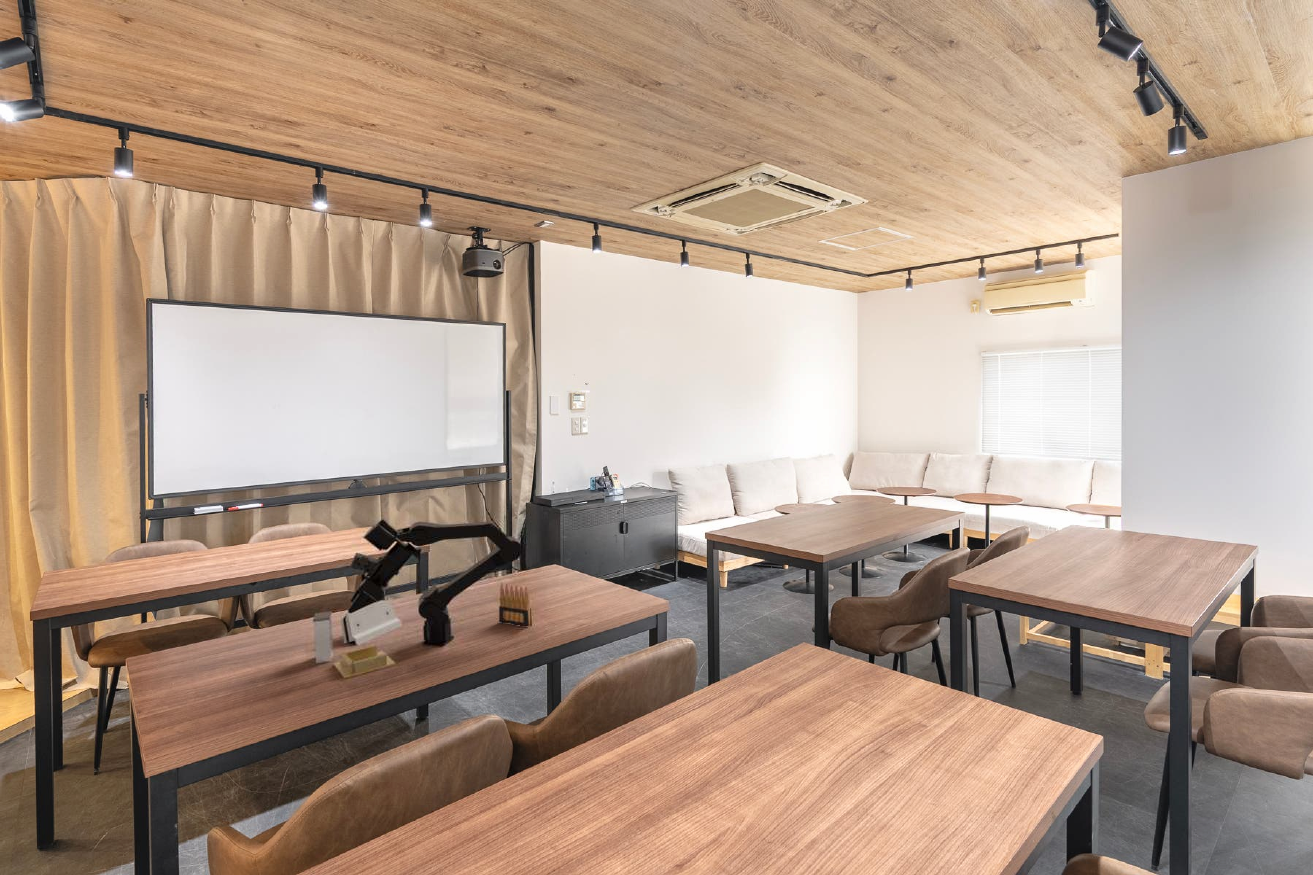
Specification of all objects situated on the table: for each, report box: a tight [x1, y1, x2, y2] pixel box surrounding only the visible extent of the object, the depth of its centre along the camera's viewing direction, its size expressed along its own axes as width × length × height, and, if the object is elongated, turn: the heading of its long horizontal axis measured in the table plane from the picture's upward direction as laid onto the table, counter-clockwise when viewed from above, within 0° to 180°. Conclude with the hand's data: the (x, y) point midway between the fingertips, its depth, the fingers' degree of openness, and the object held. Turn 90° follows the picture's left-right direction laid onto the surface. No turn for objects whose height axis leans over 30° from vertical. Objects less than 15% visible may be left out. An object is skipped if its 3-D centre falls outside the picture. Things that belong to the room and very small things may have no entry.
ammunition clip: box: [498, 583, 533, 627], centre depth 191 cm, size 11×2×12 cm, turn 65°
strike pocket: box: [333, 644, 396, 679], centre depth 164 cm, size 12×11×3 cm
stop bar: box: [312, 610, 334, 664], centre depth 168 cm, size 4×5×12 cm
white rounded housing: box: [340, 600, 403, 646], centre depth 186 cm, size 17×5×10 cm, turn 155°
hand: (350, 606), depth 170 cm, fingers open, 9 cm apart
